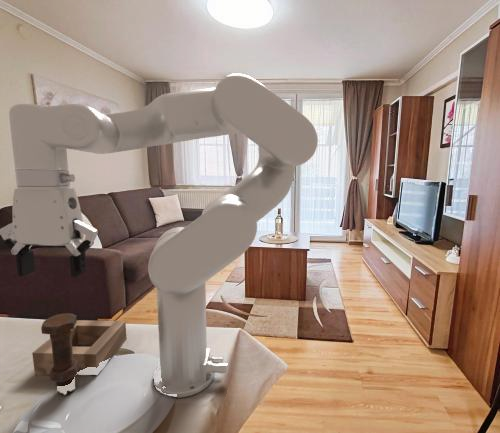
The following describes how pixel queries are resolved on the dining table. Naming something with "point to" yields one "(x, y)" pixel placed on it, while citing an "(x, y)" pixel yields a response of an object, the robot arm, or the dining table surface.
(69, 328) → the bolt
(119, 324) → the socket block
